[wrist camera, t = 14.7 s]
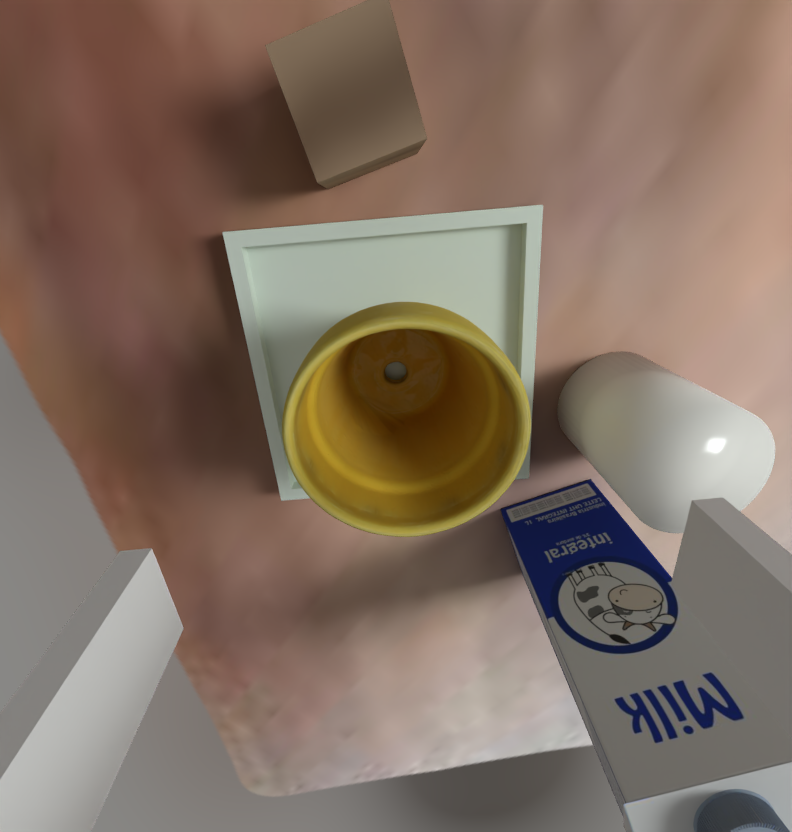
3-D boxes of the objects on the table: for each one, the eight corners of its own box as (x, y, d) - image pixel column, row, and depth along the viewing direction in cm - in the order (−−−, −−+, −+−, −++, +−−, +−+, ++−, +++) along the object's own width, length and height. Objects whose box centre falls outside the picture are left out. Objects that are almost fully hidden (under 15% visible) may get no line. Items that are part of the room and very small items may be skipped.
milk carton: (520, 574, 35) (675, 956, 17) (497, 509, 33) (654, 879, 14) (608, 547, 35) (870, 916, 16) (593, 478, 32) (885, 826, 14)
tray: (231, 231, 24) (222, 232, 23) (533, 205, 24) (543, 204, 23) (285, 488, 31) (281, 500, 30) (522, 467, 31) (528, 478, 30)
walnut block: (288, 81, 22) (264, 45, 17) (384, 39, 21) (386, -9, 17) (328, 189, 24) (317, 182, 19) (417, 153, 23) (427, 138, 19)
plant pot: (367, 468, 30) (365, 574, 21) (277, 337, 26) (226, 399, 17) (508, 395, 28) (569, 477, 19) (433, 243, 24) (466, 259, 16)
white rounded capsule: (561, 356, 28) (638, 414, 20) (671, 346, 28) (793, 400, 20) (553, 453, 31) (618, 539, 23) (653, 444, 31) (754, 526, 23)
